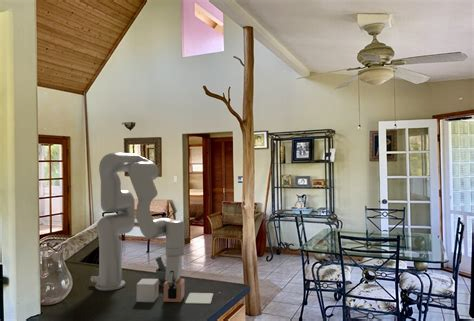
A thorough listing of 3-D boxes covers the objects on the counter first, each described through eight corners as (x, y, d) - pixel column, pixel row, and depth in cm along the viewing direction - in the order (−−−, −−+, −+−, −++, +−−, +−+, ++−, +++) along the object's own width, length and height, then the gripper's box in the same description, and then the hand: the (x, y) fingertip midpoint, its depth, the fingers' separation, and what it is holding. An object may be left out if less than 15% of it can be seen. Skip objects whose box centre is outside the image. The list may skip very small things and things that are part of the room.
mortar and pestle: (181, 283, 168) (182, 257, 169) (169, 289, 160) (169, 261, 160) (162, 279, 174) (162, 254, 174) (149, 285, 165) (149, 258, 166)
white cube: (136, 301, 146) (136, 284, 146) (141, 295, 153) (142, 278, 153) (154, 302, 145) (154, 284, 146) (158, 295, 152) (158, 278, 153)
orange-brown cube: (163, 301, 145) (163, 283, 145) (167, 295, 152) (167, 278, 152) (181, 302, 145) (181, 284, 145) (184, 295, 152) (184, 278, 152)
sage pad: (185, 303, 144) (185, 302, 144) (189, 293, 155) (189, 292, 155) (210, 304, 144) (210, 303, 144) (213, 294, 155) (213, 293, 155)
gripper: (170, 245, 158) (169, 287, 158) (160, 256, 140) (159, 302, 140) (187, 246, 157) (187, 287, 157) (179, 256, 140) (179, 303, 140)
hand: (174, 294), depth 149 cm, fingers closed on orange-brown cube, 7 cm apart
